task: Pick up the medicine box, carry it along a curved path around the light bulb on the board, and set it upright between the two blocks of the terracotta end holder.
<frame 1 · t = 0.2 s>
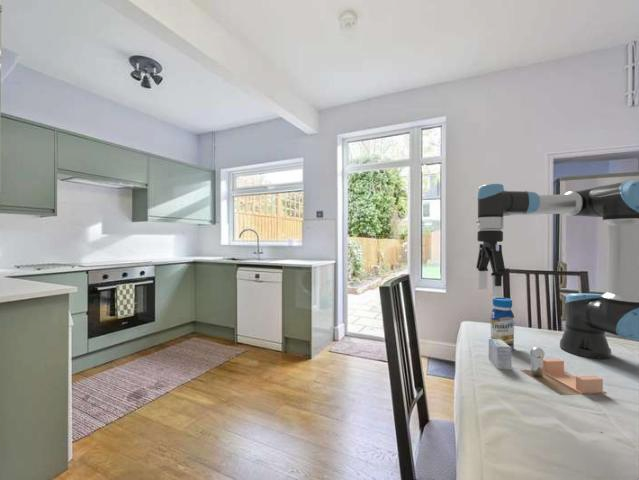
hand: (489, 292, 99), 26 cm above the table, tool pointing down, fingers open, 13 cm apart
end holder: (569, 381, 88), resting on route board
beverage bottle: (501, 347, 119), on the table
route board: (560, 384, 89), on the table
medicine box: (499, 368, 100), on the table
light bulb: (537, 375, 92), resting on route board
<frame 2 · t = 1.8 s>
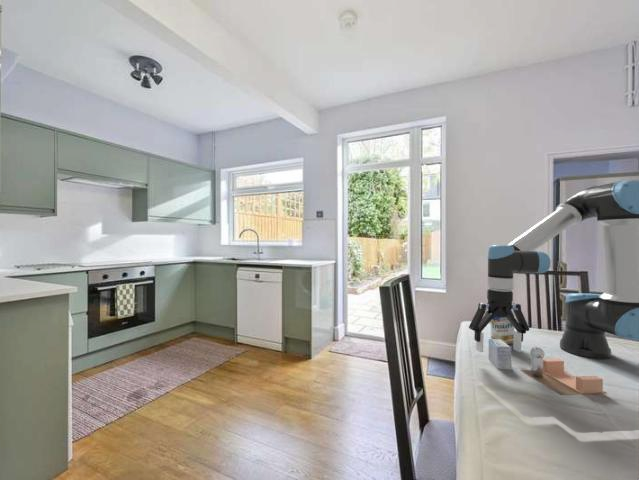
hand: (498, 350, 100), 6 cm above the table, tool pointing down, fingers open, 13 cm apart
nothing on the table moved.
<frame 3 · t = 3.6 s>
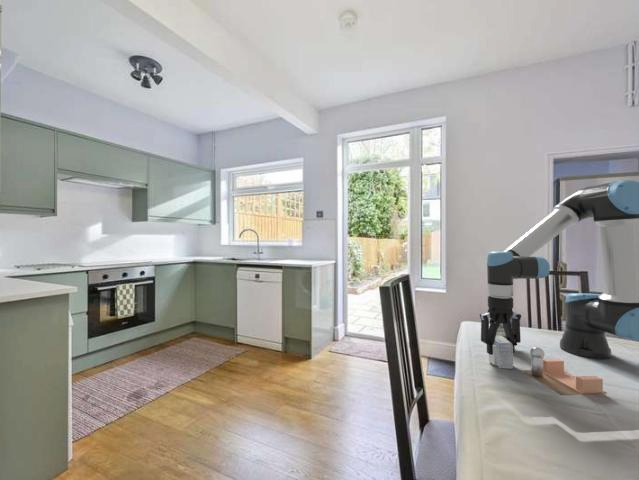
hand: (500, 362, 100), 2 cm above the table, tool pointing down, fingers closed on medicine box, 5 cm apart
medicine box: (500, 364, 100), point 1 cm above the table, touching gripper
everything else where it was.
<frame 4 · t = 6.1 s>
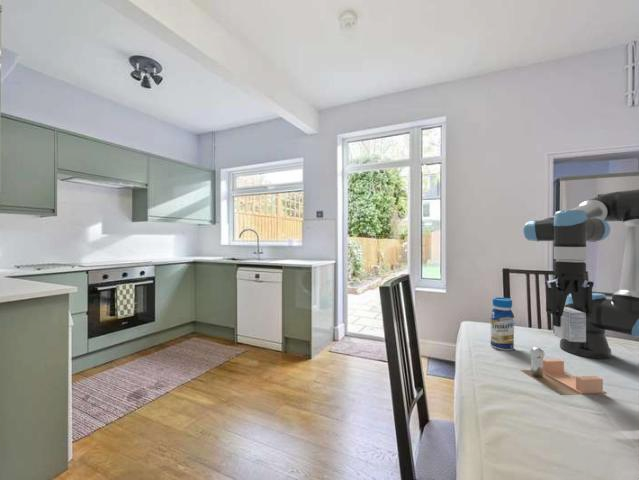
hand: (568, 336, 88), 15 cm above the table, tool pointing down, fingers closed on medicine box, 5 cm apart
medicine box: (568, 338, 88), point 14 cm above the table, touching gripper
everything else where it was.
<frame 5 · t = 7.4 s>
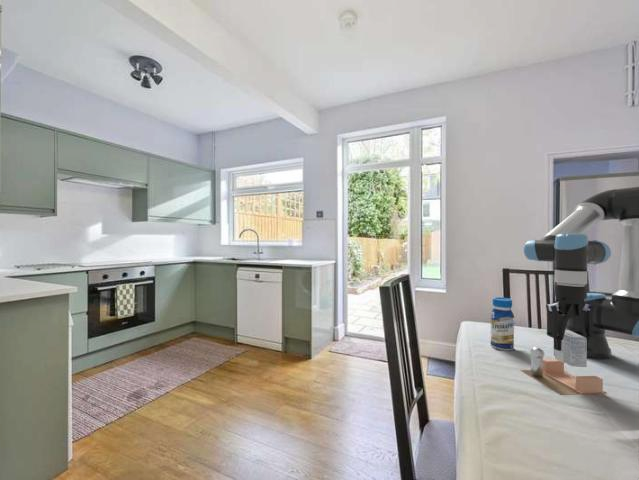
hand: (569, 360, 88), 8 cm above the table, tool pointing down, fingers closed on medicine box, 5 cm apart
medicine box: (569, 362, 88), point 7 cm above the table, touching gripper
everything else where it was.
when the fingers open (3 cm above the table, at t = 8.6 s): medicine box stays where it is, resting on end holder.
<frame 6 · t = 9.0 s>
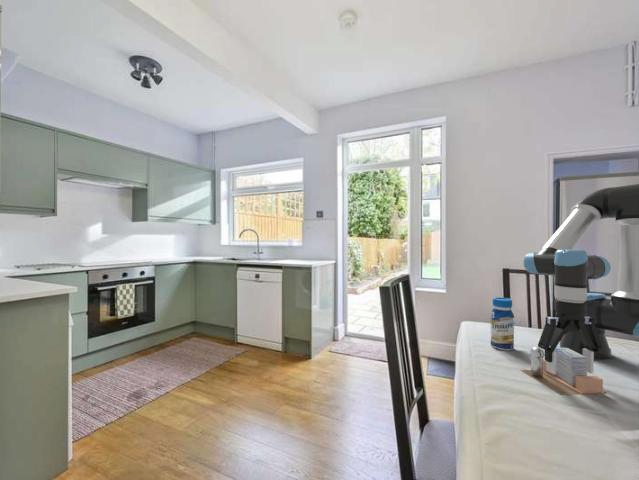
hand: (569, 371, 88), 4 cm above the table, tool pointing down, fingers open, 11 cm apart
medicine box: (569, 381, 88), point 1 cm above the table, touching end holder
everything else where it was.
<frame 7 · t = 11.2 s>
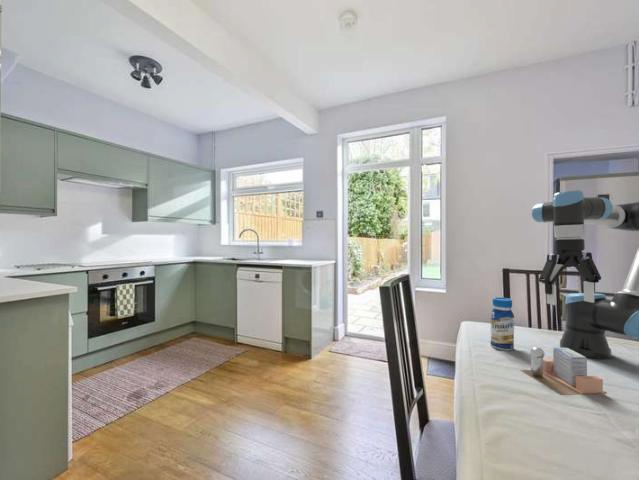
hand: (570, 303, 95), 24 cm above the table, tool pointing down, fingers open, 13 cm apart
nothing on the table moved.
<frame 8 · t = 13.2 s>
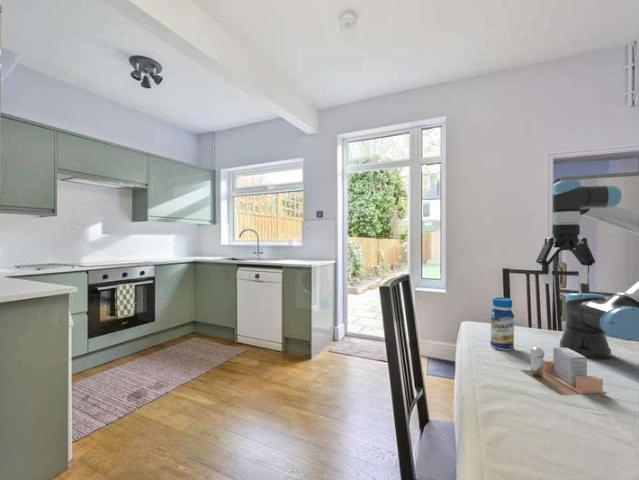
hand: (565, 283, 104), 29 cm above the table, tool pointing down, fingers open, 13 cm apart
nothing on the table moved.
at the end: medicine box 0.0 cm off-centre on the end holder, point 0.1 cm above the end holder's base; medicine box tilted 0°; the gripper is holding nothing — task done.
